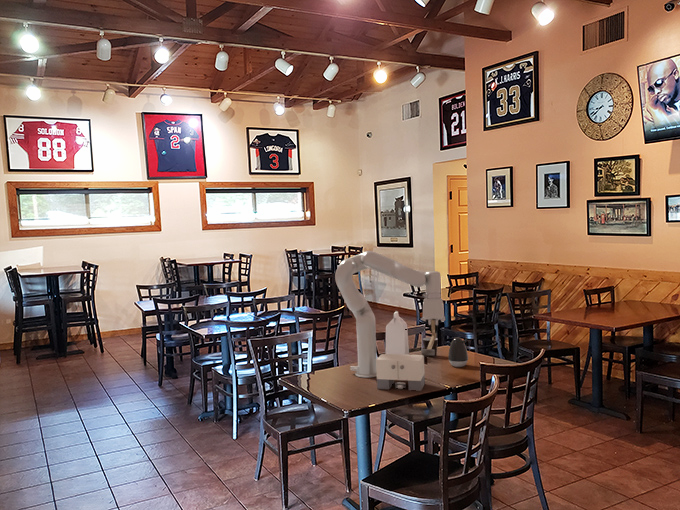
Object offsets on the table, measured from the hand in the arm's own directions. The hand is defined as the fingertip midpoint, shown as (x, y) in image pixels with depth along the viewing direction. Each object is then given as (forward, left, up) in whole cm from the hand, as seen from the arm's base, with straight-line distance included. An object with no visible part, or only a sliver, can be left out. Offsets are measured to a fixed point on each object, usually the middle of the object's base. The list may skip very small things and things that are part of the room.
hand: (433, 332), depth 266 cm
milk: (-26, +34, -21) cm, 48 cm away
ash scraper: (0, -9, -5) cm, 10 cm away
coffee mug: (-8, +38, -21) cm, 44 cm away
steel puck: (-12, -27, -21) cm, 37 cm away
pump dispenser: (+10, +18, -21) cm, 29 cm away
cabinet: (-12, -25, -21) cm, 35 cm away
